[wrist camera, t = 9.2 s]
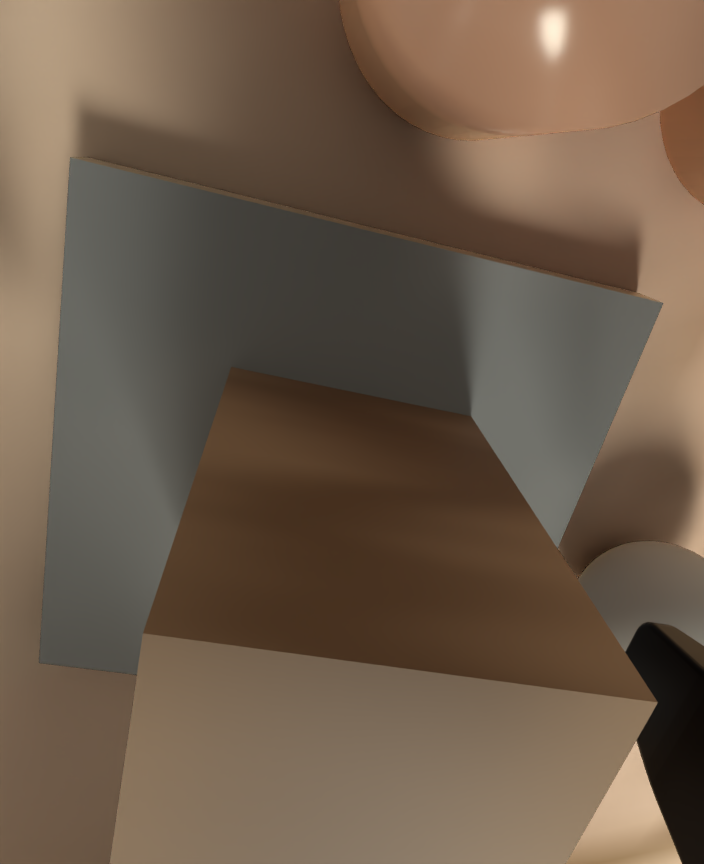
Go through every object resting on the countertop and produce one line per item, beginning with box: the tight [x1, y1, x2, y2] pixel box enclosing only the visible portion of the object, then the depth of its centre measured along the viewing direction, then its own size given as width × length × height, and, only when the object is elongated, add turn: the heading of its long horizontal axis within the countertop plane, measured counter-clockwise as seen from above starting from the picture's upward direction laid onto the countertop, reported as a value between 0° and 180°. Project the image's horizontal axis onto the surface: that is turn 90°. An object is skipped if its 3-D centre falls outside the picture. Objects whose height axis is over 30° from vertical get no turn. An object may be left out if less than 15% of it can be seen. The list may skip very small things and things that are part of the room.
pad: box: [39, 157, 663, 675], centre depth 11 cm, size 9×9×1 cm
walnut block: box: [110, 367, 658, 864], centre depth 8 cm, size 4×4×6 cm
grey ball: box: [578, 541, 704, 651], centre depth 12 cm, size 3×3×3 cm
